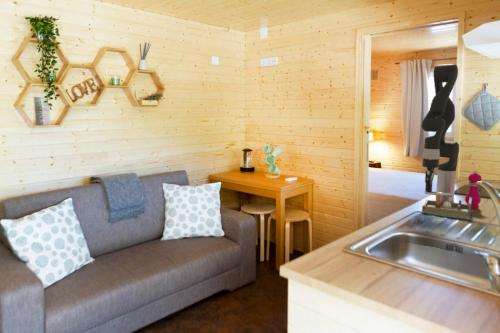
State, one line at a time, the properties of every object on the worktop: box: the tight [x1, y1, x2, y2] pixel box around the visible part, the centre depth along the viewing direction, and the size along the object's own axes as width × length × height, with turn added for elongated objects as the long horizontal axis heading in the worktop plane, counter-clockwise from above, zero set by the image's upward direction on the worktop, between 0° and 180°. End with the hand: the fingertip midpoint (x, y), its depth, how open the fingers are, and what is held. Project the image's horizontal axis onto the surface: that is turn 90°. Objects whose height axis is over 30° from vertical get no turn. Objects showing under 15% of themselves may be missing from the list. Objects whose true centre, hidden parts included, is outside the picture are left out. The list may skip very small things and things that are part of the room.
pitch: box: [421, 197, 472, 220], centre depth 207 cm, size 16×21×8 cm
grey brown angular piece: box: [424, 179, 453, 208], centre depth 208 cm, size 6×13×14 cm, turn 61°
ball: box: [443, 201, 452, 209], centre depth 207 cm, size 4×4×4 cm
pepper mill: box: [464, 170, 482, 211], centre depth 214 cm, size 7×7×20 cm
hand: (428, 189), depth 210 cm, fingers open, 8 cm apart
